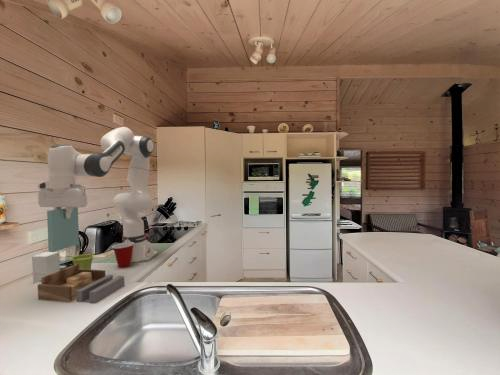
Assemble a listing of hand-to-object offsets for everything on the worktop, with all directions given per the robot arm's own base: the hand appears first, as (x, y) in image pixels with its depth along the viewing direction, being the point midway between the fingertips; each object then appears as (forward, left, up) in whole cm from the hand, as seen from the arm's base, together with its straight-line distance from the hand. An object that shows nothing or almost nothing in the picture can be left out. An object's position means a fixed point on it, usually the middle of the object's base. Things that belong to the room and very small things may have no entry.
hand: (63, 218), depth 105 cm
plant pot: (-20, -11, -31) cm, 39 cm away
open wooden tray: (0, +4, -31) cm, 31 cm away
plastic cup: (-34, +1, -31) cm, 46 cm away
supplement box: (-10, -21, -31) cm, 39 cm away
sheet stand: (0, +17, -31) cm, 35 cm away
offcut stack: (0, +6, -30) cm, 30 cm away
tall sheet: (0, 0, -12) cm, 12 cm away
